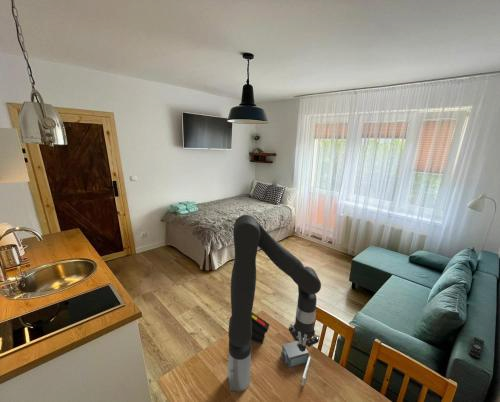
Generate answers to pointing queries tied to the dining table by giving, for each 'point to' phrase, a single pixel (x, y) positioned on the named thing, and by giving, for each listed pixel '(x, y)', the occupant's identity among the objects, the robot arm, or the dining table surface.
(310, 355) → the side door
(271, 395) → the dining table surface
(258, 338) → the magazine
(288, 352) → the camera body
